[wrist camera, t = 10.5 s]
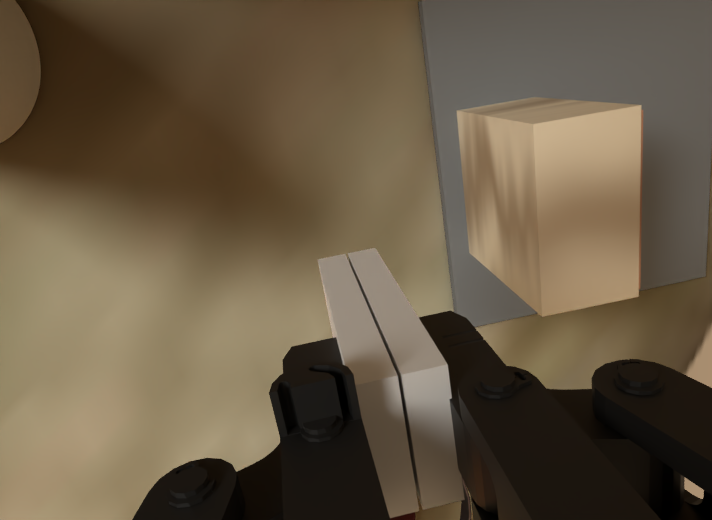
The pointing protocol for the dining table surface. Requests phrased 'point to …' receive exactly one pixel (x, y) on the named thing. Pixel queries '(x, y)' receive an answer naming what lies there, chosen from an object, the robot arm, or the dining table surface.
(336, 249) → the dining table surface
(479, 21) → the mat
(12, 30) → the travel mug
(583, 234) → the wooden block
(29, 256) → the dining table surface
